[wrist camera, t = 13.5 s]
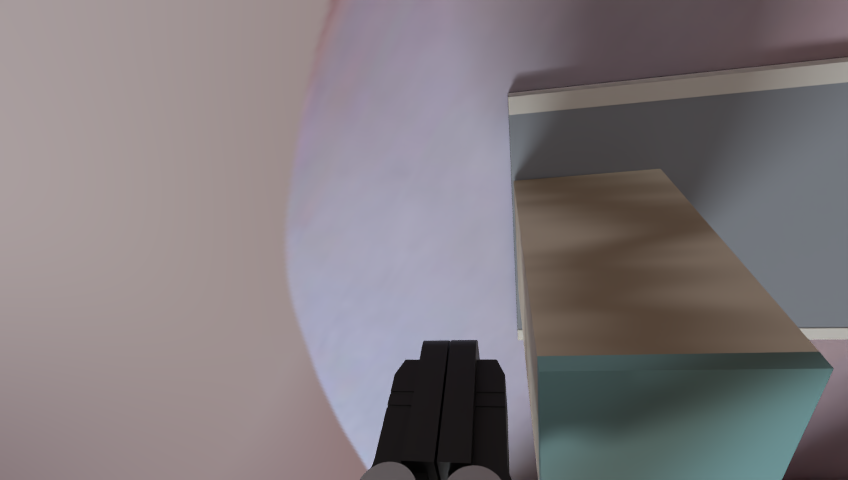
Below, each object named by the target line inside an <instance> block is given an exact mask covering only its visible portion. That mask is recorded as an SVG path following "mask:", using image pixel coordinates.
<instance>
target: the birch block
mask: <svg viewBox="0 0 848 480" xmlns="http://www.w3.org/2000/svg"><path fill="white" fill-rule="evenodd" d="M514 204H515V227H516V251H517V274H518V293H519V302H520V312H521V321H522V331H523V340H524V350H525V360H526V369H527V379H528V388H529V398H530V407H531V417H532V427H533V436H534V446H535V455H536V465H537V475H538V480H782V478H783V476H784V474H785V472H786V470H787V467H788V465H789V463H790V461H791V459H792V457H793V455H794V452H795V450H796V448H797V446H798V444H799V442H800V440H801V437H802V435H803V433H804V431H805V429H806V427H807V425H808V422H809V420H810V418H811V416H812V414H813V412H814V410H815V407H816V405H817V403H818V401H819V399H820V397H821V395H822V392H823V390H824V388H825V386H826V384H827V382H828V380H829V377H830V375H831V373H832V371H833V369H834V368H833V367H832V366H831V365H830V364H829V363H828V361H827V360H826V359H825V358H824V357H823V356H822V354H821V353H820V352H819V351H818V350H817V349H816V348H815V346H814V345H813V344H812V343H811V342H810V341H809V339H808V338H807V337H806V336H805V335H804V334H803V333H802V331H801V330H800V329H799V328H798V327H797V326H796V324H795V323H794V322H793V321H792V320H791V319H790V318H789V316H788V315H787V314H786V313H785V312H784V311H783V309H782V308H781V307H780V306H779V305H778V304H777V303H776V301H775V300H774V299H773V298H772V297H771V296H770V294H769V293H768V292H767V291H766V290H765V289H764V288H763V286H762V285H761V284H760V283H759V282H758V281H757V279H756V278H755V277H754V276H753V275H752V274H751V272H750V271H749V270H748V269H747V268H746V267H745V266H744V264H743V263H742V262H741V261H740V260H739V259H738V257H737V256H736V255H735V254H734V253H733V252H732V251H731V249H730V248H729V247H728V246H727V245H726V244H725V242H724V241H723V240H722V239H721V238H720V237H719V236H718V234H717V233H716V232H715V231H714V230H713V229H712V227H711V226H710V225H709V224H708V223H707V222H706V221H705V219H704V218H703V217H702V216H701V215H700V214H699V212H698V211H697V210H696V209H695V208H694V207H693V206H692V204H691V203H690V202H689V201H688V200H687V199H686V197H685V196H684V195H683V194H682V193H681V192H680V190H679V189H678V188H677V187H676V186H675V185H674V184H673V182H672V181H671V180H670V179H669V178H668V177H667V175H666V174H665V173H664V172H663V171H662V170H661V169H650V170H638V171H626V172H614V173H602V174H590V175H578V176H566V177H554V178H542V179H530V180H518V181H514Z"/></svg>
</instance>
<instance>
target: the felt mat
mask: <svg viewBox="0 0 848 480" xmlns="http://www.w3.org/2000/svg"><path fill="white" fill-rule="evenodd" d="M508 109H509V133H510V158H511V182H512V206H513V231H514V255H515V280H516V304H517V328H518V340H523V331H522V321H521V312H520V302H519V293H518V274H517V251H516V227H515V204H514V181H518V180H530V179H542V178H554V177H566V176H578V175H590V174H602V173H614V172H626V171H638V170H650V169H661V170H662V171H663V172H664V173H665V174H666V175H667V177H668V178H669V179H670V180H671V181H672V182H673V184H674V185H675V186H676V187H677V188H678V189H679V190H680V192H681V193H682V194H683V195H684V196H685V197H686V199H687V200H688V201H689V202H690V203H691V204H692V206H693V207H694V208H695V209H696V210H697V211H698V212H699V214H700V215H701V216H702V217H703V218H704V219H705V221H706V222H707V223H708V224H709V225H710V226H711V227H712V229H713V230H714V231H715V232H716V233H717V234H718V236H719V237H720V238H721V239H722V240H723V241H724V242H725V244H726V245H727V246H728V247H729V248H730V249H731V251H732V252H733V253H734V254H735V255H736V256H737V257H738V259H739V260H740V261H741V262H742V263H743V264H744V266H745V267H746V268H747V269H748V270H749V271H750V272H751V274H752V275H753V276H754V277H755V278H756V279H757V281H758V282H759V283H760V284H761V285H762V286H763V288H764V289H765V290H766V291H767V292H768V293H769V294H770V296H771V297H772V298H773V299H774V300H775V301H776V303H777V304H778V305H779V306H780V307H781V308H782V309H783V311H784V312H785V313H786V314H787V315H788V316H789V318H790V319H791V320H792V321H793V322H794V323H795V324H796V326H797V327H798V328H799V329H800V330H801V331H802V333H803V334H804V335H805V336H806V337H807V338H808V339H848V57H843V58H834V59H825V60H815V61H806V62H797V63H787V64H778V65H768V66H759V67H750V68H740V69H731V70H721V71H712V72H703V73H693V74H684V75H674V76H665V77H656V78H646V79H637V80H627V81H618V82H609V83H599V84H590V85H581V86H571V87H562V88H552V89H543V90H534V91H524V92H515V93H508Z"/></svg>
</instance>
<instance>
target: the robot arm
mask: <svg viewBox="0 0 848 480" xmlns="http://www.w3.org/2000/svg"><path fill="white" fill-rule="evenodd" d="M360 480H512V479H511V477H510V475H509V447H508V415H507V399H506V384H505V374H504V372H503V370H502V369H501V367H500V365H499V363H498V361H497V360H480V358H479V349H478V341H477V340H451V342H450V341H424V342H423V345H422V350H421V356H420V360H405V361H404V363H403V364H402V365H401V367H400V368H399V369H398V371H397V372H396V374H395V376H394V380H393V384H392V389H391V394H390V397H389V401H388V408H387V409H386V414H385V418H384V422H383V426H382V430H381V434H380V439H379V443H378V447H377V451H376V455H375V459H374V462H373V465H372V467H371V468H370V469H369V470H368V471H367V472H366V473H365V474H364V475H363V476H362V477H361V479H360Z"/></svg>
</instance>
